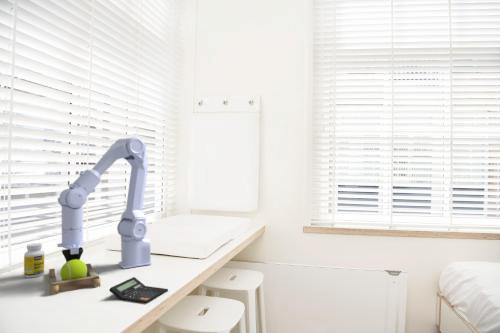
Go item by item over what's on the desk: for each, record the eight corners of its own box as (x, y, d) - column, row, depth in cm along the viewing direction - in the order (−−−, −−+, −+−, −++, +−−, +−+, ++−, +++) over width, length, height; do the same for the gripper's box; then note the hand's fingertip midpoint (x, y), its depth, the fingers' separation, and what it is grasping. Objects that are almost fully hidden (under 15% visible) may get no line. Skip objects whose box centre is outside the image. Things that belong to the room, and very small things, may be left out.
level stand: (90, 267, 117) (90, 260, 117) (100, 286, 98) (100, 277, 98) (48, 274, 110) (48, 266, 110) (50, 295, 92) (50, 286, 92)
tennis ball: (79, 278, 106) (79, 255, 106) (92, 282, 102) (91, 258, 102) (55, 284, 100) (55, 260, 100) (68, 289, 96) (68, 264, 96)
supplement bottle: (34, 278, 106) (34, 246, 106) (19, 277, 107) (19, 246, 107) (48, 273, 111) (48, 242, 111) (34, 272, 112) (33, 242, 112)
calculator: (146, 305, 86) (146, 293, 86) (109, 299, 90) (109, 287, 90) (168, 292, 94) (167, 281, 94) (133, 287, 98) (133, 276, 98)
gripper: (56, 226, 109) (56, 269, 109) (58, 233, 97) (58, 282, 97) (81, 224, 113) (81, 265, 113) (86, 230, 100) (86, 277, 100)
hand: (72, 273), depth 105 cm, fingers closed
